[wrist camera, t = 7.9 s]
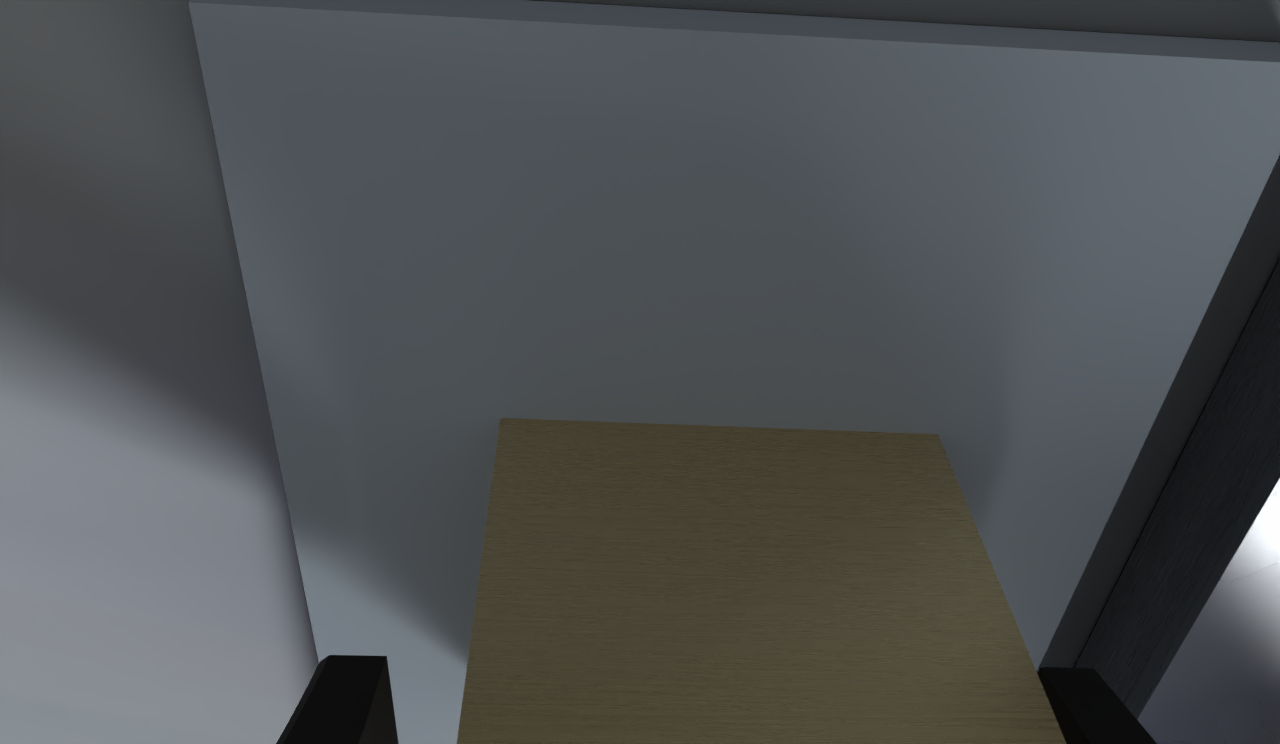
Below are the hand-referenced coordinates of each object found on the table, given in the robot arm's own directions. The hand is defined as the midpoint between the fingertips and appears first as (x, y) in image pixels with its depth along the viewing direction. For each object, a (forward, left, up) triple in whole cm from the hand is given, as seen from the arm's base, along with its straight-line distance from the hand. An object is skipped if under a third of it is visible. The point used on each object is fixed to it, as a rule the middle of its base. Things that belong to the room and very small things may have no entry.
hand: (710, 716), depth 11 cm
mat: (0, 0, -3) cm, 3 cm away
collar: (0, 0, -2) cm, 2 cm away
